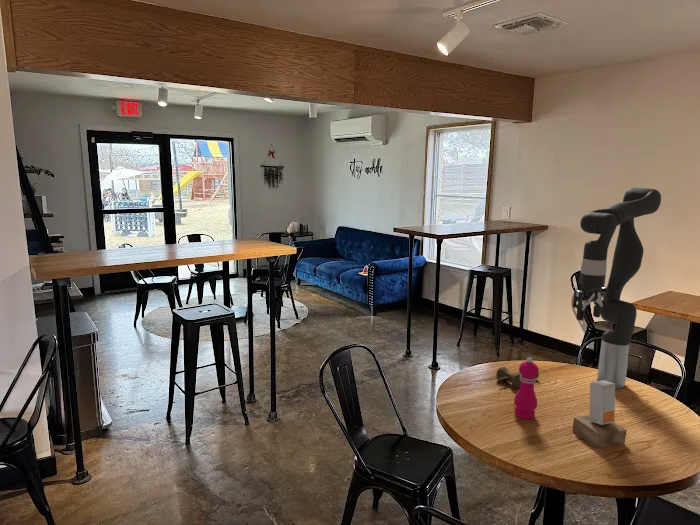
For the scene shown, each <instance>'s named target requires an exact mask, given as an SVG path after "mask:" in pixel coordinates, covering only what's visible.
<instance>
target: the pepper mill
mask: <svg viewBox="0 0 700 525" xmlns="http://www.w3.org/2000/svg"><path fill="white" fill-rule="evenodd" d="M518 371H519V372H520V374H521V375H520V380H521V386H520V389H518V391H517V392H516V394H515V396H514V399H513V403H514V406H515V407H514V415H515V416H516V417H517V418H520V419H524V420H532V419H534V418H535V414H536V411H535V410H536V409H537V407H538V399H537V396H536V393H535V383H536V382H537V379H536V376H537V375H538V372H539V366H538V365H537V364H536V363H534V362H533V358H532V357H527V358H526V361H523V362H521V363H520V364H519V367H518ZM519 372H518V373H519ZM539 373H540V372H539Z"/></svg>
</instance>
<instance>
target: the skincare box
mask: <svg viewBox="0 0 700 525" xmlns="http://www.w3.org/2000/svg"><path fill="white" fill-rule="evenodd" d="M589 384H590V386H589V415H590V421H591V422H594V423H597V424H600V425H604V424H608V423H615V416H616V413H615V411H616V410H615V408H616V404H615V403H616V389H615V383H611V382H608V381H604V380H602V381H597V380H596V381H592V382H590V383H589Z"/></svg>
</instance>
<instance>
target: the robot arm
mask: <svg viewBox="0 0 700 525" xmlns="http://www.w3.org/2000/svg"><path fill="white" fill-rule="evenodd" d="M661 202H662V195H661V192H660V191H659V190H658V189H655V188H647V187H646V188H643V187H629V188H627V190H626V191H625V193H624V195H623V199H622V202H618V203H614V204H611V205H610V206H607V207H606V208H600V209H595V210H591V211H588V212H586V213H585V214H584V215H583V216H582V218H581V219H580V228H581V230H582V231H583V232H585V233H586V234H591V235H592V234H593V235H599V237H598V238H597V239H596V240H587V241H586V242H585V243H584V247H583V254H582V255H583V257H582V262H581V267H580V275H579V277H580V278H579V286H581V290H578V289H576V290H574V293H573V299H572V300H573V301H572V308H575V309H576V317H575V318H576V320H577V321H580V322H581V321H584V320H585V319H584V318H585V310H586V307H587V306H589V305H590V303H592V302H593V312H592V316H593V318H601V319H602V320H603V321H605V322H608V323H611V324H614V325H615V329H614V330H606V331H603V333H602V334H601V343H600V344H601V345H600V352H599V359H598V366H597V369H598V370H597V376H596V381H602V380H604V381H608V382H611V383H615V390H616V389H617V390H618V389H623V388H624V387H625V385H626V381H627V380H626V379H627V370H628V367H629V366H628V364H629V362H628V358H629V349H630V343H631V340H632V337H633V335H634V329H635V324H636V319H637V308H636V305H635V304H634V303H631V302H628V301H625V300H621V295H622V292H623V290H624V288H625V286H626V284H627V283H628V282H629V281H630V280H631V279H632V278H634V276H635V275H636V274H637V273H638V272H639V270H640V268H641V266H642V261H643V257H644V246H643V244H642V241H641V239H640V237H639V235H638V234H637V233H638V232H637V230H636V228H635V218H636V219H637V218H639V217H642V216H646V215H650V214H651V215H652V214H655V213H656V212H657V211H658V210H659V209H660V206H661ZM617 226H619V228H618V233H617V234H618V235H617V239H616V243H615V249H614V253H613V257H612V263H611V268H610V269H611V270H610V275H609V278H608V281H607V286H606V287H605V283H606V276H607V275H606V274H607V262H608V261H607V259H608V250H609V246H610V244H611V241H612V238H613V236H614V233H615V232H616V229H617Z"/></svg>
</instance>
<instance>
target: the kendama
mask: <svg viewBox="0 0 700 525" xmlns="http://www.w3.org/2000/svg"><path fill="white" fill-rule="evenodd" d="M539 373H540V372H538V375H537V376H536V380H537V379H538V378H539V377H540V376H539V375H540V374H539ZM520 375H521V374H520V372H518V373H511V372H510V371H509V369H508V368H506V367H505V366H501V367H499V368H498V369H497V371H496V379H497V381H501V382H502V381H503V382H504V381H506V382H509V383H511V385H512V387H513V388H514V389H515V390H519V389H520V386H521V380H520Z"/></svg>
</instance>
